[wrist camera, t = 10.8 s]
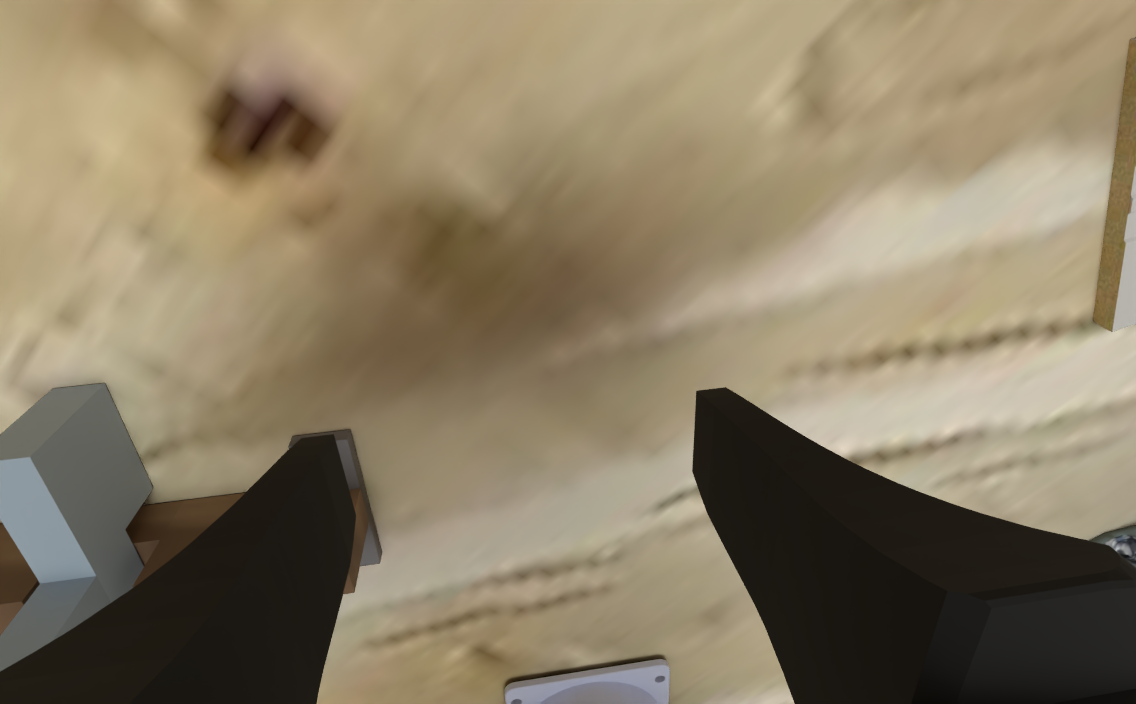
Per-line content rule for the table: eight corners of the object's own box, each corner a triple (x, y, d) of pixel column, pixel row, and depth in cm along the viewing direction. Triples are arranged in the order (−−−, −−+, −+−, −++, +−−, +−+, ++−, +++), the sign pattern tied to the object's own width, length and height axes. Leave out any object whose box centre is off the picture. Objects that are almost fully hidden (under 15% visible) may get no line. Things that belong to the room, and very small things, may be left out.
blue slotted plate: (218, 631, 26) (127, 853, 19) (178, 637, 26) (71, 863, 19) (104, 382, 21) (-85, 569, 14) (52, 388, 20) (-166, 579, 13)
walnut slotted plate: (382, 552, 25) (367, 637, 22) (-48, 611, 24) (-138, 712, 20) (350, 429, 23) (327, 504, 19) (-139, 487, 21) (-261, 579, 18)
